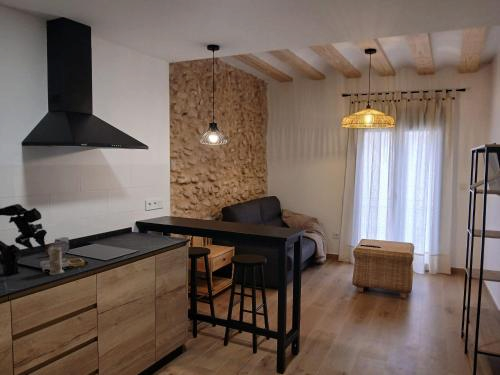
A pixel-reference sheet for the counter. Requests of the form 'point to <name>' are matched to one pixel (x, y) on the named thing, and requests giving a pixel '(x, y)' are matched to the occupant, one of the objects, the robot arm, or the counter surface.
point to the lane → (47, 264)
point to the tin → (62, 244)
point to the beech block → (55, 259)
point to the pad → (56, 273)
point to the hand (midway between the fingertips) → (39, 248)
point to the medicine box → (62, 239)
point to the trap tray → (76, 263)
